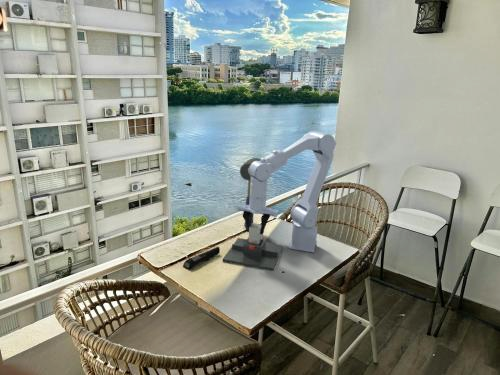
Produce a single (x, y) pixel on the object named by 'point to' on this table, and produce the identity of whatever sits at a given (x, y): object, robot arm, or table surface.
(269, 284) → the table surface
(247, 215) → the robot arm
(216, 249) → the electric trimmer
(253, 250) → the stand base
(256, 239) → the column
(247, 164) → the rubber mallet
